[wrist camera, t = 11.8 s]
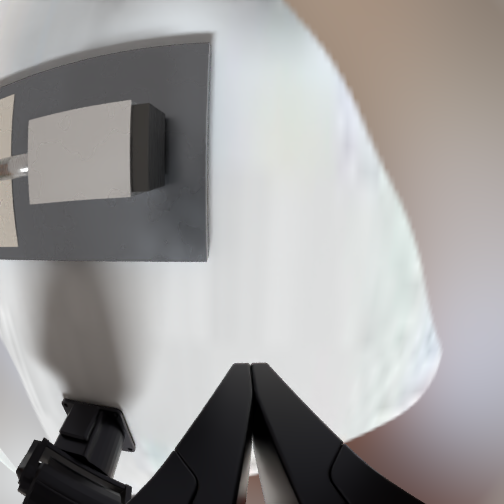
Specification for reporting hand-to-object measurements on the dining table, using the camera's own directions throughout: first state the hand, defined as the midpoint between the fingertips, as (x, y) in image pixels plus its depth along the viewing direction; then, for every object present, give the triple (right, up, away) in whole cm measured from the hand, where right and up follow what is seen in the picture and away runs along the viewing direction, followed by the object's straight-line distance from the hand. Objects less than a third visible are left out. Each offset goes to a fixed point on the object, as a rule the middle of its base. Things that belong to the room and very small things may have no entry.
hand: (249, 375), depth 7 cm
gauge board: (-17, +9, +9) cm, 22 cm away
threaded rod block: (-10, +9, +8) cm, 15 cm away
